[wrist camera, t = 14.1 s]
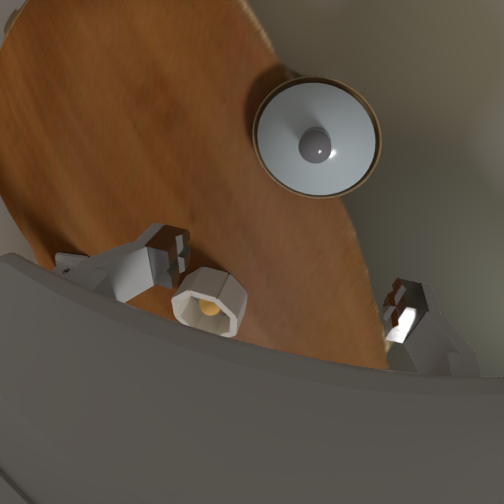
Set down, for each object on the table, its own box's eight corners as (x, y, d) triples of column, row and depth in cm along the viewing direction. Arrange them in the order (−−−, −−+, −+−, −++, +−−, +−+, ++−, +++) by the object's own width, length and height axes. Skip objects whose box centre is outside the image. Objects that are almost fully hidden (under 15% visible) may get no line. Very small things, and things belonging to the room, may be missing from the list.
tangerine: (204, 300, 50) (196, 316, 47) (203, 285, 48) (194, 301, 45) (224, 306, 50) (217, 322, 47) (225, 291, 47) (217, 307, 44)
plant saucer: (385, 89, 24) (390, 89, 22) (365, 200, 33) (368, 209, 31) (260, 71, 27) (254, 70, 25) (255, 181, 36) (250, 189, 34)
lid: (254, 179, 33) (244, 194, 29) (265, 74, 25) (255, 73, 21) (358, 203, 31) (362, 220, 27) (384, 99, 23) (393, 102, 20)
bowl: (189, 305, 54) (176, 327, 49) (184, 261, 47) (168, 284, 42) (244, 321, 52) (235, 345, 47) (249, 277, 45) (238, 303, 40)
